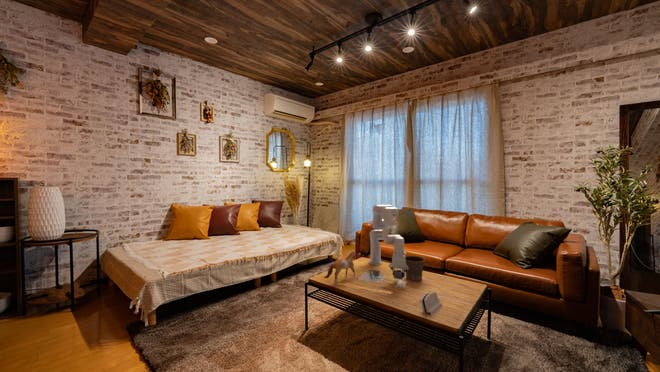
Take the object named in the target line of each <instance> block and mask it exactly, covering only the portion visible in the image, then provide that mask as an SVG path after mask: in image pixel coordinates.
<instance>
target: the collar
mask: <svg viewBox="0 0 660 372" xmlns="http://www.w3.org/2000/svg"><path fill="white" fill-rule="evenodd" d="M402 273H403V271H402V269H397V268H395V271H394V275H393V279H397V280H403V279H404V278H402Z"/></svg>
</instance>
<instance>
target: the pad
mask: <svg viewBox="0 0 660 372" xmlns="http://www.w3.org/2000/svg"><path fill="white" fill-rule="evenodd" d="M407 283H408V281H407V280H402V279H397V281H396V284H395V285H394V287H397V288H398V287H399V288H403V289H405V288H406V286H407Z"/></svg>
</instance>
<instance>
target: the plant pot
mask: <svg viewBox="0 0 660 372" xmlns="http://www.w3.org/2000/svg"><path fill="white" fill-rule="evenodd" d="M405 258H406V265H407V266H408V267H409V269H408V270H407V271H406V272H405V278H406V279H407V280H409V281H411V282H420V281H422V280H423V271H424V265H425V258H424V257H421V256H416V255H407V256H406V255H405ZM405 269H407V268H406V267H405Z"/></svg>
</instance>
